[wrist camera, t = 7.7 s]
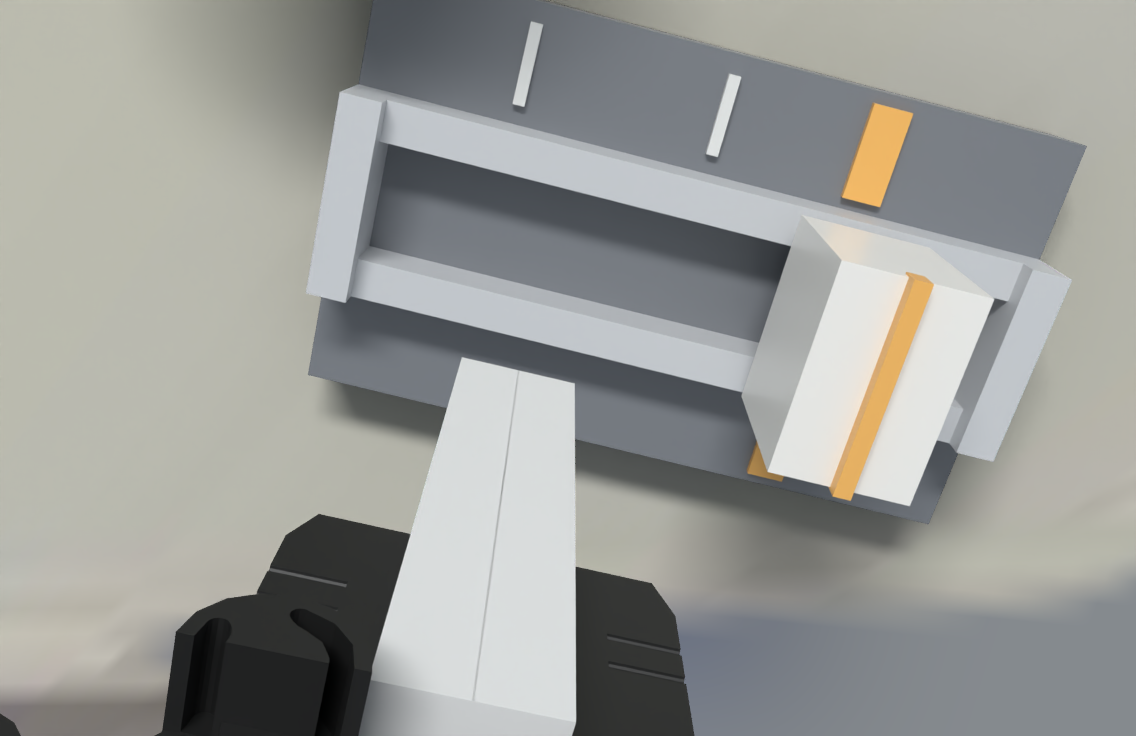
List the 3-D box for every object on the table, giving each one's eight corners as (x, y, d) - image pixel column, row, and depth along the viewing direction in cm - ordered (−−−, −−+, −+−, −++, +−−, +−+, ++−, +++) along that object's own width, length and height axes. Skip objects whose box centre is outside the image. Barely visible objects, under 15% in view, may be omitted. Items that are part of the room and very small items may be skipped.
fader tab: (733, 375, 28) (769, 481, 22) (790, 199, 26) (846, 262, 20) (847, 403, 28) (913, 516, 22) (911, 230, 26) (1001, 301, 21)
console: (325, 351, 31) (287, 401, 27) (395, -39, 27) (362, -44, 23) (908, 492, 32) (950, 560, 28) (1054, 135, 28) (1124, 158, 24)
